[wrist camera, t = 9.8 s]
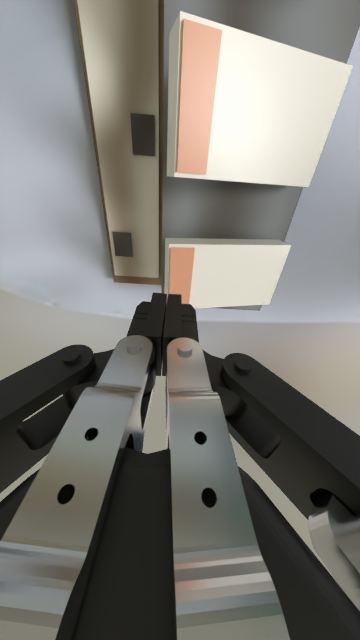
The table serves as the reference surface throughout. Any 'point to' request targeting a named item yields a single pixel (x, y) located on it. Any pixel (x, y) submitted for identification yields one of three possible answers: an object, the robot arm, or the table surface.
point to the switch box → (152, 124)
